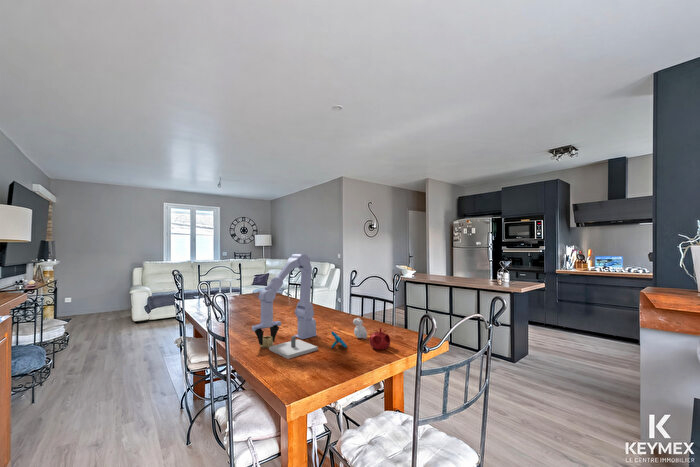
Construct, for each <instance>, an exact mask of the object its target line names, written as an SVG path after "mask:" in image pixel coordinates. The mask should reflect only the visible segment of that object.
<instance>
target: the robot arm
mask: <svg viewBox="0 0 700 467" xmlns="http://www.w3.org/2000/svg"><path fill="white" fill-rule="evenodd" d="M297 268H298V270H299V271H300V273H301V274H300V288H299V289H300V291H299V301H298V302H297V303H296V308H295V310H294V315H295V316H296V319H297V334H294V335H293V336H295V337H296V338H298V339H299V340H305V339H309V338H314V337H317V336H318V335H317V323H316V319H315V318H314V316H315V310H314V306H313V304H312V302H311V291H312V290H311V289H312V272H313V271H312V270H313V269H312V268H313V267H312V264H311V258H310V257H309V256H308V255H307V254H306V253H293V254H291V255H290V257H289V258H288V259H287V262H286V263H285V265H284V266H283V268H282V269H281V270H280V272H279V274H277V276H274V277H272V278H271V279H270V282H269V283H268V284H267V286H265V287H264V289H262V290H261V291H259V293H258V294H259V295H258V299H259V301H260V323H258V324H256V325H252V326H251V331H252V332H255V333H254V334H255V335H256V337H257V342H258V344H259V346H260V345H262V344H263V336H264V333H265V332H264V330H263V329H268V328H269V330H270V332H269V333H270V336H272V337H273V343H274V342H275V339H276V336H277V334H278V331H279V330H280V327H281V325H282V321H280V320H274V300H275V299H276V295H277V292H279V290H281V287H283V285H284V280H285V279H286V277H288V275H289V274H290V273H291V272H292V271H293V270H294V269H297Z"/></svg>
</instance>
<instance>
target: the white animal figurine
mask: <svg viewBox="0 0 700 467" xmlns="http://www.w3.org/2000/svg"><path fill="white" fill-rule="evenodd" d="M363 323H364V321H363V320H362V319H361V318H360V317H357V318H354V319H353V320H352V324H353V325H354V326H355V325H356V326H355V327H354V330H353V333H354V336H355V337H356V338H357V339H363V340H367V338H368V331H367V329H366V327H365V326H364V325H363Z"/></svg>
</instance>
